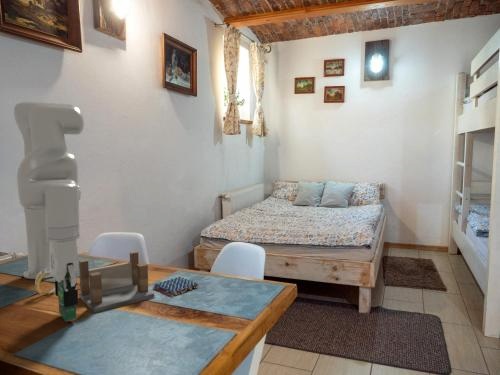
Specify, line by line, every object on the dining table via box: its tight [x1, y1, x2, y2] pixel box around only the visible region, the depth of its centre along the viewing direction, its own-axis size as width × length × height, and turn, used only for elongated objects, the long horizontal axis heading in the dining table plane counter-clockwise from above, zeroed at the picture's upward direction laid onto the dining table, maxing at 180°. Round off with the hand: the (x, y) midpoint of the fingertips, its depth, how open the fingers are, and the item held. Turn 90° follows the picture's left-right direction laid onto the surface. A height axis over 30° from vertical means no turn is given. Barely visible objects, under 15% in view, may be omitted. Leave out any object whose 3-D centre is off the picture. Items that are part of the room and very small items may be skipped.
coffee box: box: [57, 271, 77, 323], centre depth 96 cm, size 8×3×13 cm, turn 37°
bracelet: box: [34, 267, 55, 295], centre depth 114 cm, size 7×3×8 cm, turn 141°
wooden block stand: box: [78, 250, 155, 314], centre depth 111 cm, size 14×17×11 cm
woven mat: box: [152, 276, 199, 298], centre depth 118 cm, size 10×11×2 cm
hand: (66, 299), depth 96 cm, fingers closed on coffee box, 8 cm apart
